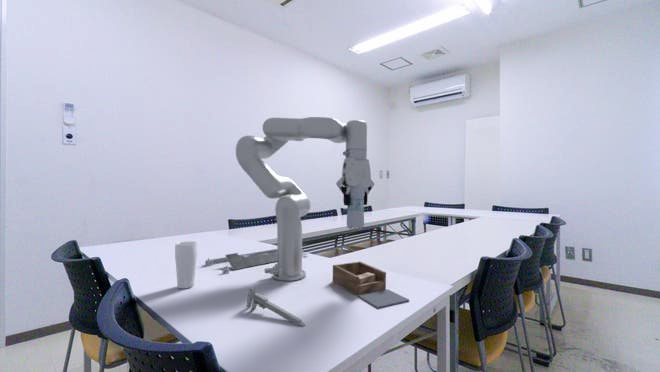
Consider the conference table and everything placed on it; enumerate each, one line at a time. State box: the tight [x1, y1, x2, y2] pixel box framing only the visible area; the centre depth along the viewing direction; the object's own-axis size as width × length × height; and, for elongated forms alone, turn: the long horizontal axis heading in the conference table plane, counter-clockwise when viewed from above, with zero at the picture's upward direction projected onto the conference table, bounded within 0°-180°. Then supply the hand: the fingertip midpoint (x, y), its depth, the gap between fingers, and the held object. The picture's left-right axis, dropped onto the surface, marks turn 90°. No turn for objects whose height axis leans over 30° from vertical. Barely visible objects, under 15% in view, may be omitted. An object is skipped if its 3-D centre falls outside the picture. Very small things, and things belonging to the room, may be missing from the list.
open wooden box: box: [332, 260, 387, 297], centre depth 105 cm, size 12×16×6 cm
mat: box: [357, 289, 410, 310], centre depth 93 cm, size 12×10×1 cm
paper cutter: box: [204, 248, 308, 275], centre depth 139 cm, size 18×45×6 cm, turn 133°
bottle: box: [346, 183, 365, 231], centre depth 107 cm, size 7×7×20 cm
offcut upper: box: [357, 272, 375, 285], centre depth 102 cm, size 8×3×2 cm, turn 133°
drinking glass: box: [174, 240, 198, 290], centre depth 102 cm, size 7×7×15 cm
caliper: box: [246, 287, 306, 328], centre depth 80 cm, size 20×1×6 cm, turn 58°
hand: (355, 204), depth 107 cm, fingers closed on bottle, 6 cm apart
